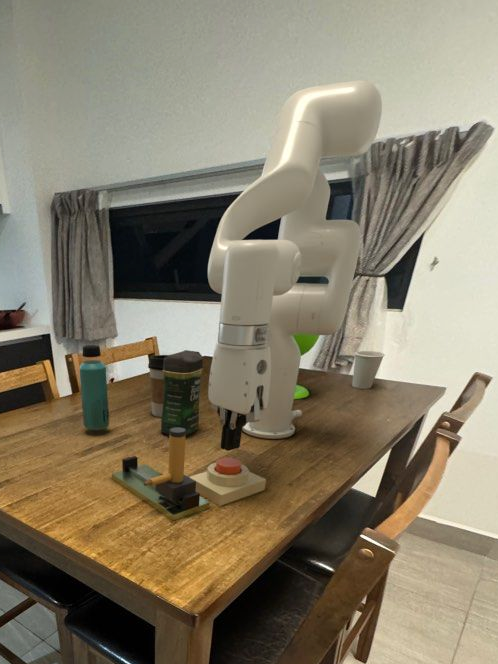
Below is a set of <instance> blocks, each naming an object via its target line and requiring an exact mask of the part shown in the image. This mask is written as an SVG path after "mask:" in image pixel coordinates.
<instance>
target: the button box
mask: <svg viewBox="0 0 498 664" xmlns="http://www.w3.org/2000/svg"><path fill="white" fill-rule="evenodd" d="M216 463H217V461H216V462H213V463H210V464H209V465H208V467H207V468H206V470H205V471H203V472H200V473H197V474H193V475H190V476H188V477H189V478H191V479H193V480H195V481H196V491H195V492H198V493H200V496H201V497H203V498H206V499H207V500H208V501H210V502H213V503H215V504H216V505H217V506H220V507H221V506H224V505H227V504H230V503H232V502H235V501H239V500H240V499H241V500H242V499H244V498H246V497H249V496H252V495H254V494H258V493H260V492H263V491H266V490H265V489H266V483H267V479H266V478H264V477H263V476H262V477H261V476H259V475H258V474H255V473H253V472H252V471H250V470H249V469H248V467H247V466H246V465H244V464H242V463H241V469H240V473H239V474H236V475H224V474H220V473H218V472H216Z"/></svg>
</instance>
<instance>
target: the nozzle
mask: <svg viewBox="0 0 498 664" xmlns="http://www.w3.org/2000/svg"><path fill="white" fill-rule="evenodd" d="M168 440H169V441H168V471H167V472H168V473H165V474H163V475H161V476H158V477H154V478H151V479H149V481H146V482H144V486H148V485H150V486H153V485H156V491H157V492H159V494H160V495H162V496H164V497H165V498H167V499H168V500H170V501H171V502H173V503H174V504H178V499H181V498H182V496H184V495H187V494H190V493H193V492H195V491H196V481H195V480H193V479H191V478H189V477H190V476H187V475H186V474H184V473H185V457H186V456H185V455H186V454H185V453H186V430H185V429H184V428H180V427H175V428H171V429H170V436H169V439H168Z"/></svg>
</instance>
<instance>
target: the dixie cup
mask: <svg viewBox="0 0 498 664" xmlns="http://www.w3.org/2000/svg"><path fill="white" fill-rule="evenodd" d="M384 357H385V353H383V352H381V351H375V350H359V351H356V352H355V353H354V366H353V374H352V383H351V387H352V388H356V389H362V390H363V389H367V390H368V389H371V388H372V386H373V383H374V382H375V379H376V376H377V373H378V371H379V368H380V366H381V365H382V361H383V358H384Z"/></svg>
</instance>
